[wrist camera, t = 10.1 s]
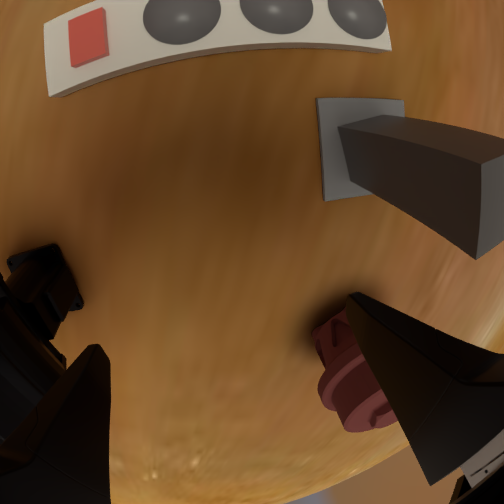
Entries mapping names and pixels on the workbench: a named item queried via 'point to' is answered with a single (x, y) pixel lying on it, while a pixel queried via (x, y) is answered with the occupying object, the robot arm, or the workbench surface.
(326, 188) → the mat
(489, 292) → the workbench surface
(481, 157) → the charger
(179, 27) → the power strip
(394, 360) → the robot arm
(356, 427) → the mechanical component
